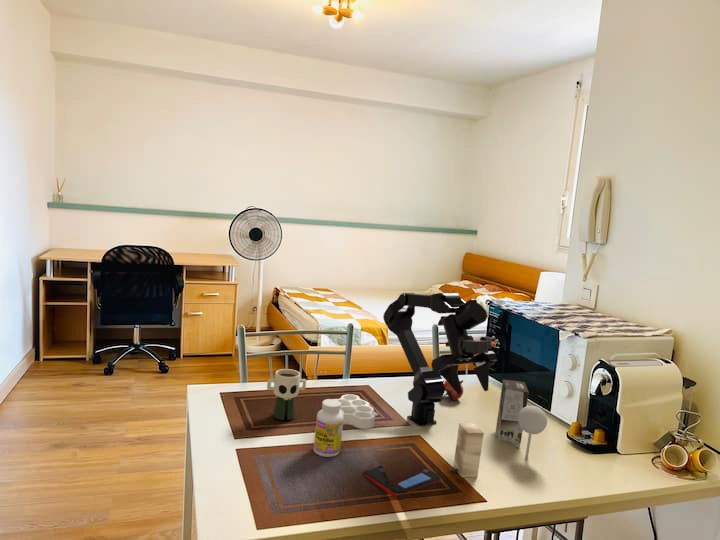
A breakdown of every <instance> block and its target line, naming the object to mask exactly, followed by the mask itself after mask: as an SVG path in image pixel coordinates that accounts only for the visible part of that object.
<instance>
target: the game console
mask: <svg viewBox="0 0 720 540" xmlns="http://www.w3.org/2000/svg"><path fill="white" fill-rule="evenodd" d="M419 468H420V469H422V467H421V466H420V467H419ZM362 474H363V475H364V476H365V477H366V478H367V479H368V480H370V481H371V482H372V483H374V484H375V485H376V486H378V488H380V489H382V490H383V491H384V492H386V493H387V494H388V495H390V496H391V497H392V498H394V499H398V497H397V495H396V494H397V493H398V494H406V493H409V492H411V491H415V490H417V489H420V488H423V487H426V486H429V485H431V484H434V483H437V482H439V481H441V477H440V475H439V474H438V473H436V472H434V471H433V470H431V469H429V470H428V469H422V472H421V473H420V472H419V473H418V474H417V475H414V476H411V477H409V478H408V479H405V480H402V481H401V482H398V484H397V485H394V481H389V479H388V477H387V475H386V472H385V471H384V468H383V465H380V466H376V467H373V468H369V469H367V470H363V472H362Z"/></svg>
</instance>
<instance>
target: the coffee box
mask: <svg viewBox="0 0 720 540" xmlns="http://www.w3.org/2000/svg"><path fill="white" fill-rule="evenodd" d="M500 391H501V392H500V398H499V404H498V405H499V406H498V412H497V420H496V427H495V434H496V435H497V439H498V440H500V441H506V442H509V443H510V444H511V445H512V446H513V447H515V448H521V443H522V437H523V432H524V430H523V429H522V428H521V427H520V425H519V422H518V415H519V413H520V411H521V410H522V409H523V408H524V407H527V406H528V399H529V394H530V392H529V390H528V386H527V384H526V382H523V381H517V380H513V379H512V380H509V379H502V384H501V390H500Z"/></svg>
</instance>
